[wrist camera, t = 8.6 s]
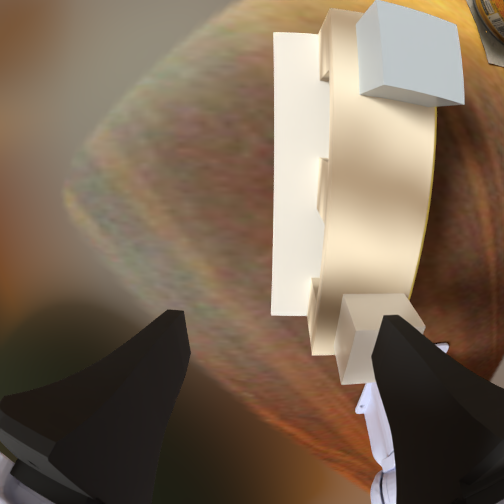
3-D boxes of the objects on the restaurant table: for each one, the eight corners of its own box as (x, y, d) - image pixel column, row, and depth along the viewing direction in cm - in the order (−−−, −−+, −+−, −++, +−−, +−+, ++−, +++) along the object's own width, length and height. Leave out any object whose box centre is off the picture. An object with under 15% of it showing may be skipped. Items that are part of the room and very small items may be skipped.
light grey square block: (428, 107, 10) (464, 104, 7) (359, 94, 10) (383, 84, 8) (424, 40, 9) (456, 24, 6) (355, 24, 9) (375, -1, 6)
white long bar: (374, 315, 19) (390, 351, 15) (307, 315, 19) (312, 355, 16) (399, 47, 12) (429, 30, 8) (318, 34, 12) (330, 8, 9)
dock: (396, 299, 21) (405, 314, 19) (271, 299, 21) (270, 316, 20) (419, 62, 14) (434, 57, 12) (273, 42, 14) (273, 31, 12)
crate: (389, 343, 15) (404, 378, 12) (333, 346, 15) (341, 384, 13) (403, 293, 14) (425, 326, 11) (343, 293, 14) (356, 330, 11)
